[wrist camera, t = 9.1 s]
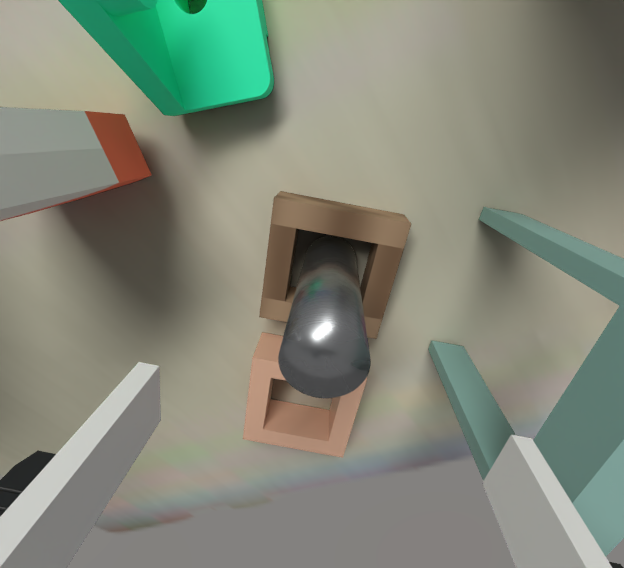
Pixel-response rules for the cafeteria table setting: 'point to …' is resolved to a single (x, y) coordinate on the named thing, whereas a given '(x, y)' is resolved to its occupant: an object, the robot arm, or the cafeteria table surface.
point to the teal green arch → (575, 400)
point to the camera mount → (184, 49)
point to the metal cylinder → (326, 324)
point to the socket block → (339, 222)
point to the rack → (294, 410)
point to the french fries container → (63, 157)
